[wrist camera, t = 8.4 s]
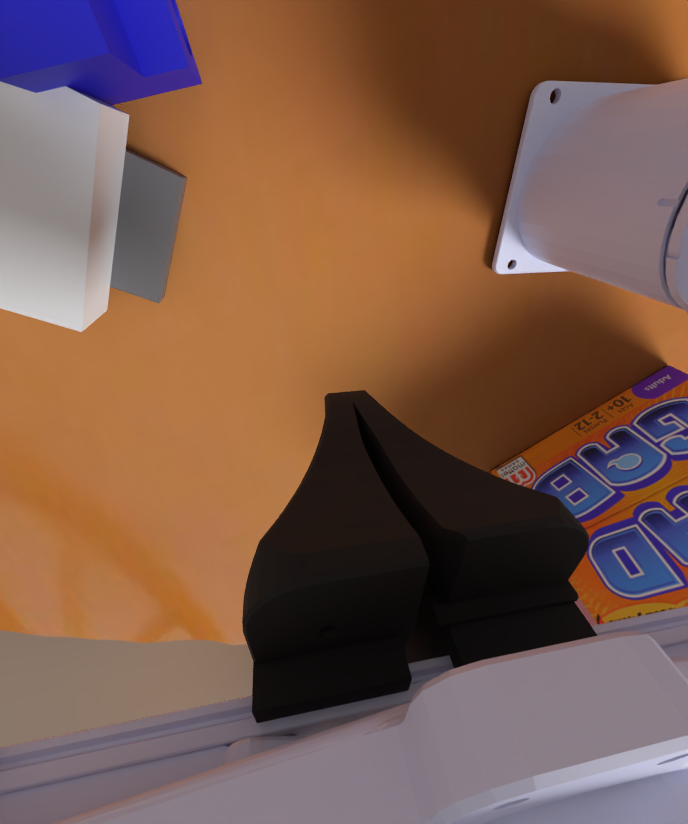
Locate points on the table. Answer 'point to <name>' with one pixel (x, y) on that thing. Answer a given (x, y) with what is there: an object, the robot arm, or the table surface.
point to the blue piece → (96, 47)
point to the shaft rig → (78, 208)
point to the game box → (623, 495)
